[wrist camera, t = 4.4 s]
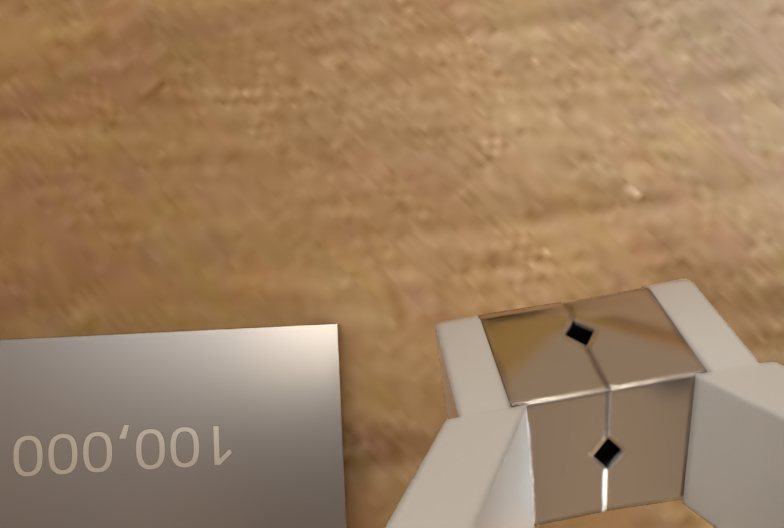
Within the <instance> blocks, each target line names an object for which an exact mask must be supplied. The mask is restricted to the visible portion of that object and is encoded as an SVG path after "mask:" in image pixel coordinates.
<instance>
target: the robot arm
mask: <svg viewBox="0 0 784 528" xmlns="http://www.w3.org/2000/svg"><path fill="white" fill-rule="evenodd" d="M435 332H436V339H437V346H438V354H439V361H440V368H441V375H442V383H443V390H444V397H445V403H446V409H447V415H448V419H446V420H445V422H444V424H443V425H442V427H441V429H440V431H439V433H438V434H437V436H436V438H435V440H434V441H433V443H432V445H431V447H430V449H429V450H428V452H427V454H426V456H425V457H424V459H423V461H422V463H421V465H420V466H419V468H418V470H417V472H416V473H415V475H414V477H413V479H412V481H411V482H410V484H409V486H408V488H407V489H406V491H405V493H404V495H403V497H402V498H401V500H400V502H399V504H398V505H397V507H396V509H395V511H394V512H393V514H392V516H391V518H390V520H389V521H388V523H387V525H386V527H385V528H534V526H537V525H542V524H546V523H551V522H556V521H561V520H565V519H570V518H575V517H580V516H585V515H589V514H594V513H599V512H604V511H610V510H616V509H623V508H629V507H636V506H643V505H649V504H656V503H662V502H669V501H676V500H682V499H683V504H685V505H686V506H687V507H689V508H690V509H691V510H693V511H694V512H695V513H697V514H698V515H699V516H701V517H702V518H703V519H704V520H706V521H707V522H708V523H710V524H711V525H712V526H714V527H715V528H784V365H782V364H779V363H777V362H775V361H770V362H764V363H760V362H759V361H758V360H757V359H756V358H755V356H754V355H753V354H752V353H751V352H750V350H749V349H748V348H747V347H746V346H745V344H744V343H743V342H742V341H741V340H740V338H739V337H738V336H737V335H736V334H735V332H734V331H733V330H732V329H731V328H730V326H729V325H728V324H727V323H726V322H725V320H724V319H723V318H722V317H721V316H720V314H719V313H718V312H717V311H716V310H715V308H714V307H713V306H712V305H711V304H710V302H709V301H708V300H707V299H706V298H705V296H704V295H703V294H702V293H701V292H700V290H699V289H698V288H697V287H696V285H695V284H694V283H693V282H692V281H690V280H688V279H685V278H682V279H677V280H672V281H667V282H662V283H657V284H652V285H648V286H643V287H642V288H640V289H634V290H629V291H623V292H618V293H612V294H607V295H601V296H596V297H590V298H585V299H579V300H574V301H568V302H563V303H561V302H559V303H552V304H546V305H540V306H533V307H527V308H520V309H514V310H507V311H501V312H494V313H488V314H482V315H478V317H477V316H470V317H465V318H459V319H453V320H447V321H441V322H436V330H435Z"/></svg>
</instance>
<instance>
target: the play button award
mask: <svg viewBox="0 0 784 528" xmlns="http://www.w3.org/2000/svg"><path fill="white" fill-rule="evenodd" d="M0 528H347V519H346V495H345V472H344V448H343V425H342V401H341V378H340V354H339V331H338V324H323V325H303V326H282V327H261V328H240V329H220V330H199V331H178V332H157V333H137V334H116V335H95V336H74V337H54V338H33V339H12V340H0Z"/></svg>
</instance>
